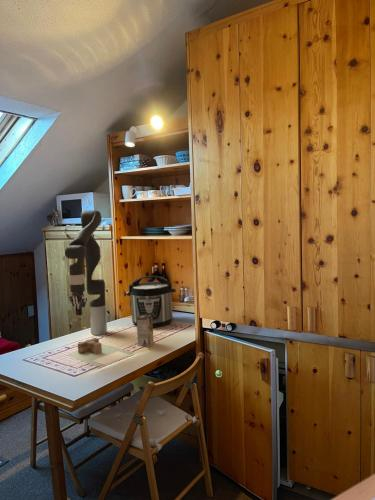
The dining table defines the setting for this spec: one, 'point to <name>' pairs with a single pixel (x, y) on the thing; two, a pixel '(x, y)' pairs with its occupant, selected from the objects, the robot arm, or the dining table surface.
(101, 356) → the board
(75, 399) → the dining table surface
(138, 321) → the coffee box
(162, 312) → the pressure cooker
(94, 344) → the t block
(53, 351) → the dining table surface
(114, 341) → the dining table surface
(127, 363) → the dining table surface
